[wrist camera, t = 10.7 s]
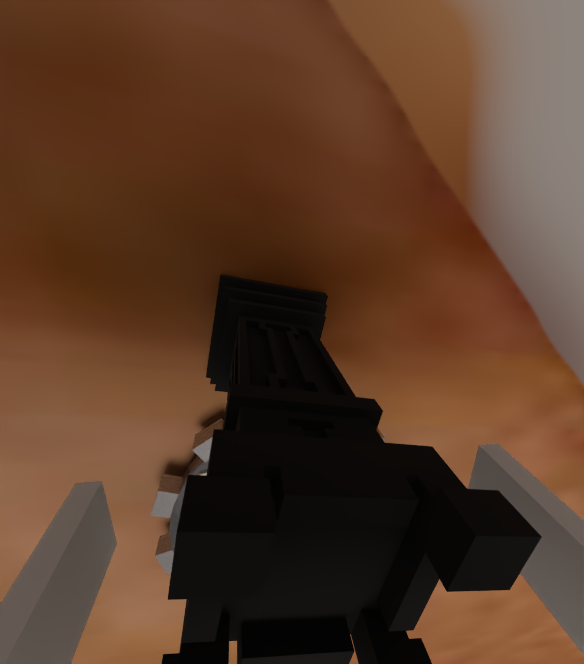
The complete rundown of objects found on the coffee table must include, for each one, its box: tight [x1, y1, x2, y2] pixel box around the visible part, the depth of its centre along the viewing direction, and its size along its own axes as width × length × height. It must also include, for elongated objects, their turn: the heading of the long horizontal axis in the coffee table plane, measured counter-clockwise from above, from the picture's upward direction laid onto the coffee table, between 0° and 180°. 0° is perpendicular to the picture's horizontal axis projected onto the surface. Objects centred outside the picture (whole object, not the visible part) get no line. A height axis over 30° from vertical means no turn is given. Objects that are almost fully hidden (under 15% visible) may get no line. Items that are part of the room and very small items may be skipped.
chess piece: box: [162, 275, 542, 664], centre depth 16 cm, size 8×8×20 cm
